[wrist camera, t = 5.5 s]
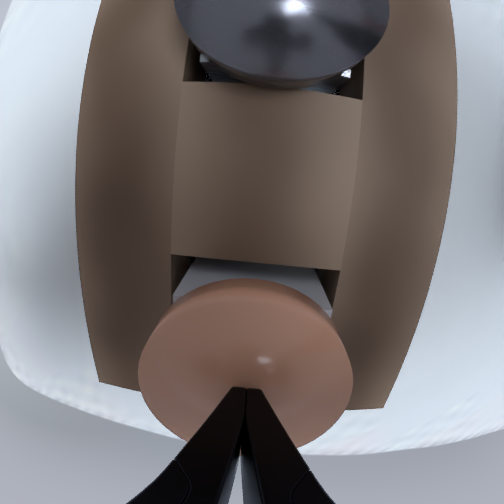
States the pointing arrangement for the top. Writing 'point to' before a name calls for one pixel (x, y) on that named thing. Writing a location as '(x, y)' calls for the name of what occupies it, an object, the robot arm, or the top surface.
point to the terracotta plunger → (247, 348)
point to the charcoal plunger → (283, 39)
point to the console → (263, 182)
